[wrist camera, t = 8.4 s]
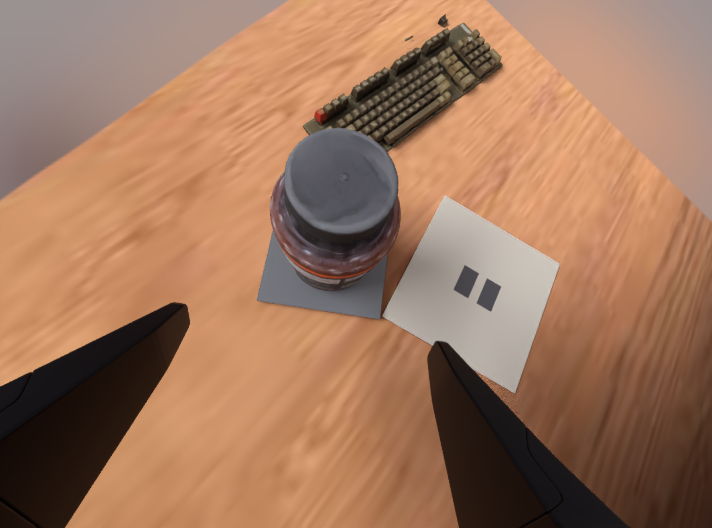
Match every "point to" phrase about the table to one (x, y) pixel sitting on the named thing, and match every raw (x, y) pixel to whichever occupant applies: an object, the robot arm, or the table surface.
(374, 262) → the supplement bottle
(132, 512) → the table surface
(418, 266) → the card
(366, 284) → the slate coaster
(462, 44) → the keyboard
